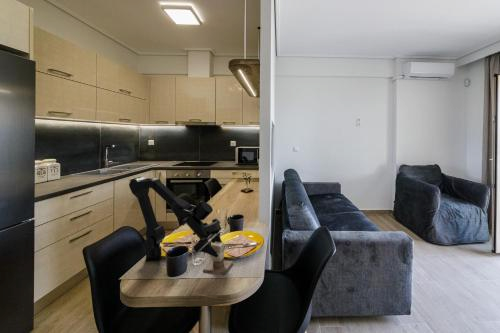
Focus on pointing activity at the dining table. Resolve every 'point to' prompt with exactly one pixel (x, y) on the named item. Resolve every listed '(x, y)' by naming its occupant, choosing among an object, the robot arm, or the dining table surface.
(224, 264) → the walnut stand
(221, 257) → the birch block
